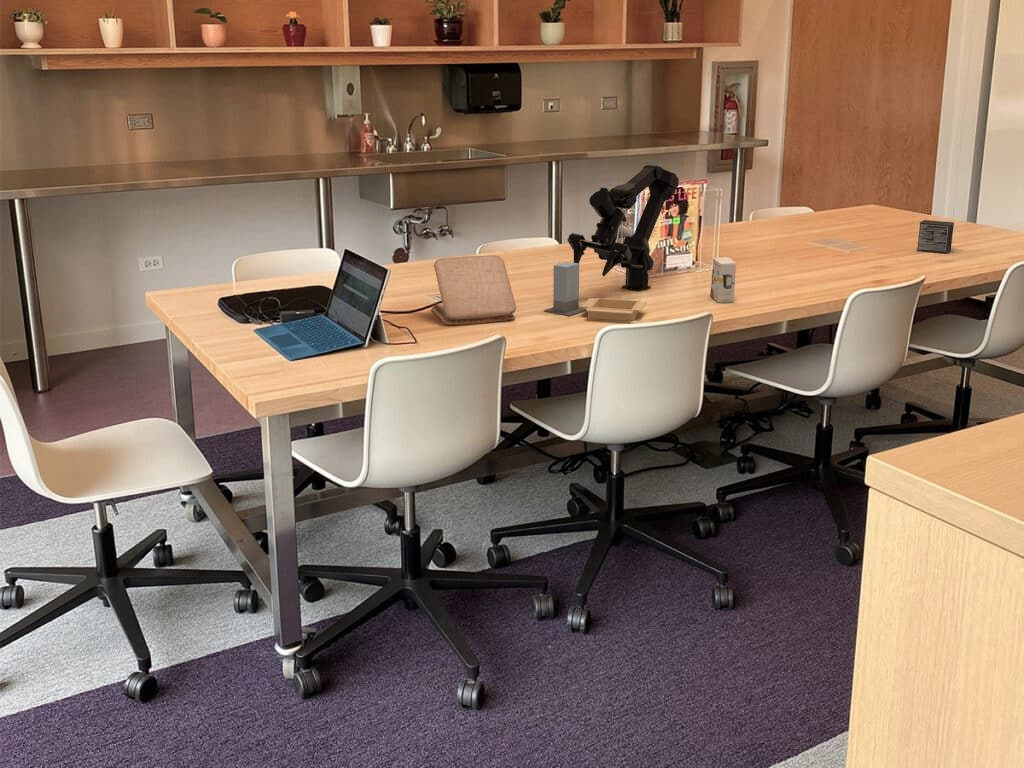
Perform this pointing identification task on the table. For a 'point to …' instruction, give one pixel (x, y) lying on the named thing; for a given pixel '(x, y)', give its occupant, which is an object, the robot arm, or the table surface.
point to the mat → (567, 312)
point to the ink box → (723, 280)
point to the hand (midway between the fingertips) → (588, 272)
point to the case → (473, 290)
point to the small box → (935, 236)
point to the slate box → (566, 287)
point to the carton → (613, 308)
